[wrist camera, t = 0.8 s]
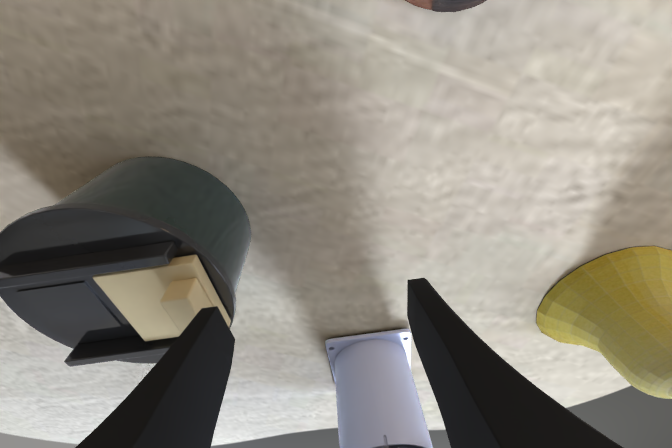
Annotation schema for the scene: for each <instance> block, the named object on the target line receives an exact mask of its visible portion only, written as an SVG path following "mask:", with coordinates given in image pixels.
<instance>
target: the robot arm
mask: <svg viewBox="0 0 672 448" xmlns="http://www.w3.org/2000/svg"><path fill="white" fill-rule="evenodd" d="M407 316H408V320H409V324H410V328H411V332H412V336H413V339H414V343H415V345H416V348H417V351H418V353H419V356H420V359H421V361H422V364H423V367H424V369H425V372H426V374H427V377H428V380H429V382H430V385H431V387H432V390H433V393H434V395H435V398H436V401H437V403H438V406H439V409H440V412H441V415H442V418H443V421H444V424H445V428H446V431H447V434H448V438H449V441H450V445H451V448H623V447H621V446H620V445H618V444H617V443H615V442H613V441H612V440H610V439H609V438H607V437H606V436H604V435H603V434H602V433H600V432H599V431H597V430H596V429H594V428H593V427H591V426H590V425H588V424H587V423H586V422H584V421H583V420H581V419H580V418H578V417H577V416H575V415H574V414H573V413H571V412H570V411H569V410H567V409H566V408H565V407H563V406H562V405H560V404H559V403H558V402H556V401H555V400H554V399H552V398H551V397H550V396H548V395H547V394H545V393H544V392H543V391H541V390H540V389H539V388H537V387H536V386H535V385H534V384H532V383H531V382H530V381H529V380H527V379H526V378H525V377H524V376H522V375H521V374H520V373H519V372H518V371H516V370H515V369H514V368H513V367H512V366H510V365H509V364H508V363H507V362H506V361H504V360H503V359H502V358H501V357H500V356H499V355H498V354H497V353H495V352H494V351H493V350H492V349H491V348H490V347H489V346H488V345H487V344H486V343H485V342H484V341H483V340H481V339H480V338H479V337H478V336H477V335H476V334H475V333H474V332H473V331H472V330H471V329H470V328H469V327H468V326H467V325H466V324H465V323H464V322H463V321H462V319H461V318H460V317H459V316H458V315H457V314H456V313H455V312H454V311H453V310H452V309H451V308H450V307H449V306H448V304H447V303H446V302H445V301H444V300H443V299H442V298H441V296H440V295H439V294H438V293H437V292H436V291H435V289H434V288H433V287H432V286H431V284H430V283H429V282H428V281H427V280H426V279H425V278H419V279H412V280H408V307H407ZM411 332H410V330H409V329H399V330H392V331H384V332H377V333H369V334H362V335H355V336H347V337H340V338H332V339H328V340H326V341H325V346H326V350H327V354H328V358H329V362H330V366H331V369H332V373H333V377H334V381H335V385H336V398H337V415H338V430H339V431H338V432H339V447H340V448H433V446H432V443H431V439H430V436H429V432H428V428H427V425H426V421H425V418H424V414H423V411H422V407H421V404H420V400H419V397H418V393H417V390H416V386H415V382H414V379H413V375H412V372H411ZM234 343H235V338H234V337H233V335H232V333H231V331H230V329H229V327H228V325H227V323H226V321H225V319H224V318H223V316H222V314H221V312H220V310H219V308H218V306H215V307H207V308H202V309H201V310H200V311H199V312H198V313H197V315H196V316H195V317H194V318H193V319H192V321H191V322H190V323H189V324H188V326H187V327H186V328H185V329H184V331H183V332H182V333H181V334H180V336H179V337H178V338H177V339H176V341H175V342H174V343H173V344H172V346H171V347H170V348H169V349H168V350H167V352H166V353H165V354H164V355H163V357H162V358H161V359H160V360H159V361H158V363H157V364H156V365H155V366H154V367H153V368H152V369H151V371H150V372H149V373H148V374H147V375H146V376H145V377H144V379H143V380H142V381H141V382H140V383H139V384H138V385H137V386H136V388H135V389H134V390H133V391H132V392H131V393H130V394H129V395H128V396H127V397H126V399H125V400H124V401H123V402H122V403H121V404H120V405H119V406H118V407H117V408H116V409H115V410H114V411H113V412H112V413H111V414H110V415H109V416H108V417H107V418H106V419H105V420H104V421H103V422H102V423H101V424H100V425H99V426H98V427H97V428H96V429H95V430H94V431H93V432H92V433H91V434H90V435H89V436H87V437H86V438H85V439H84V440H83V441H82V442H81V443H80V444H79V445H78V446H77V447H76V448H210V447H211V442H212V438H213V434H214V430H215V426H216V422H217V419H218V415H219V411H220V407H221V404H222V400H223V396H224V393H225V389H226V385H227V381H228V377H229V373H230V369H231V365H232V358H233V351H234Z"/></svg>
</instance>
